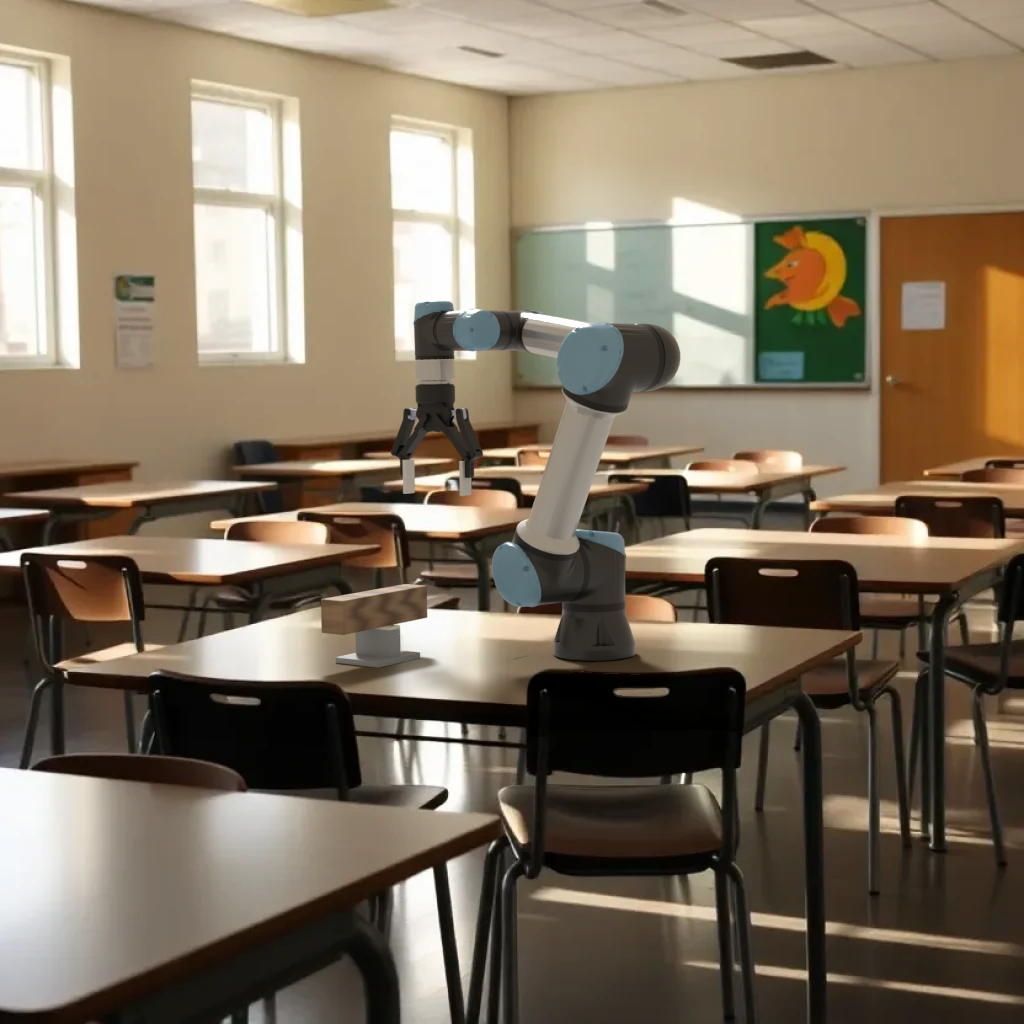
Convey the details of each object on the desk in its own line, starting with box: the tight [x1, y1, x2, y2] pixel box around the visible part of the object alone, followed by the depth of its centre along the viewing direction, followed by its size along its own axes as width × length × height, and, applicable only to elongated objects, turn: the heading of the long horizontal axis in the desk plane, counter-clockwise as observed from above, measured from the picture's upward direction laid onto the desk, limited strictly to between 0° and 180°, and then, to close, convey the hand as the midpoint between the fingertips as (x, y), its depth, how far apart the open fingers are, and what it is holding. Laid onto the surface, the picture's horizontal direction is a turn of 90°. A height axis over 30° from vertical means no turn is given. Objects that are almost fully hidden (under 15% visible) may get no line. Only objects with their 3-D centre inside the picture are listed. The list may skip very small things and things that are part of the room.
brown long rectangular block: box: [320, 583, 428, 636], centre depth 314 cm, size 24×5×6 cm, turn 145°
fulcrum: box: [335, 624, 421, 669], centre depth 314 cm, size 10×12×6 cm
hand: (437, 494), depth 331 cm, fingers open, 13 cm apart
